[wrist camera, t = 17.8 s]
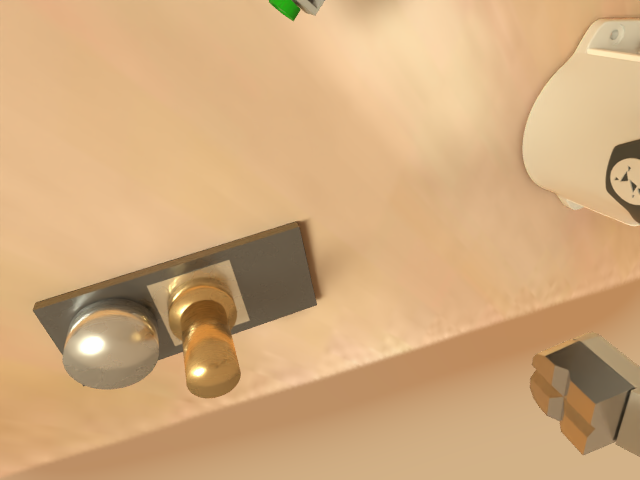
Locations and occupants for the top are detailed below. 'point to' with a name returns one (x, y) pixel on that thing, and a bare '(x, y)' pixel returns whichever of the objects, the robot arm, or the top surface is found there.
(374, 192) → the top surface
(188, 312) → the gold pawn piece
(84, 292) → the carrier plate
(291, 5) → the mechanical component
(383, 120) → the top surface
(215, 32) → the top surface
